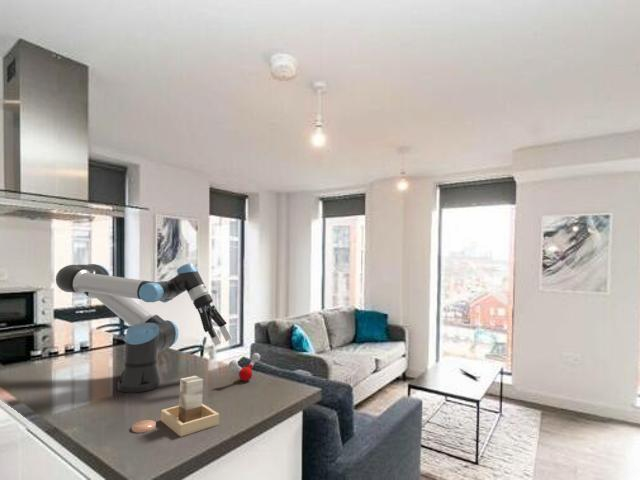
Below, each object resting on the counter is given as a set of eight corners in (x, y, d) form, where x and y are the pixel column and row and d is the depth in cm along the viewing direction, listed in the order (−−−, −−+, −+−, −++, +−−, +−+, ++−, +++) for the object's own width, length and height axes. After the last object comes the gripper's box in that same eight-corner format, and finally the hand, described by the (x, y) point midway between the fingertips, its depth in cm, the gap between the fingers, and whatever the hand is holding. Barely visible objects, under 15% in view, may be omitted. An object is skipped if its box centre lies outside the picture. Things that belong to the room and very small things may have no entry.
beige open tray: (160, 421, 114) (161, 409, 114) (197, 411, 123) (197, 400, 123) (180, 438, 104) (181, 425, 105) (218, 425, 113) (219, 413, 113)
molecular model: (251, 374, 164) (252, 351, 165) (262, 376, 162) (263, 352, 162) (226, 385, 148) (227, 360, 149) (238, 388, 146) (239, 362, 146)
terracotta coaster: (126, 433, 106) (127, 428, 106) (139, 423, 113) (139, 419, 113) (148, 434, 106) (148, 430, 106) (159, 424, 112) (160, 420, 112)
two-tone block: (178, 421, 114) (180, 378, 114) (193, 417, 117) (195, 375, 118) (185, 427, 110) (187, 382, 111) (201, 422, 114) (203, 379, 114)
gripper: (196, 293, 145) (222, 341, 142) (218, 292, 170) (240, 333, 166) (180, 302, 145) (205, 351, 142) (204, 300, 170) (225, 342, 166)
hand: (224, 342), depth 154 cm, fingers open, 13 cm apart
